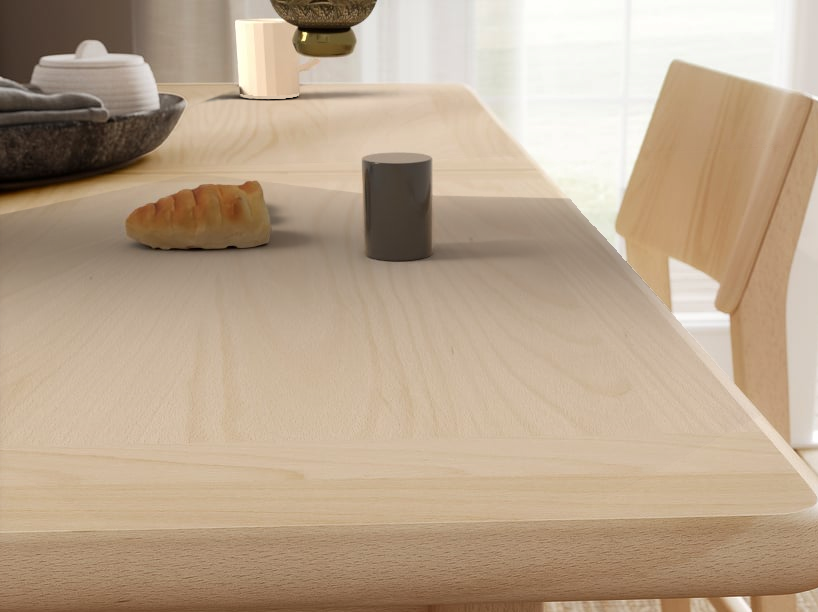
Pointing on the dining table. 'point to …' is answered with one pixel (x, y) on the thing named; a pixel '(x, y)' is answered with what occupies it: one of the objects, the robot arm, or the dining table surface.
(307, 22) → the cup
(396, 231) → the dark gray cylinder
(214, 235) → the pastry
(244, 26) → the mug
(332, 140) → the dining table surface
